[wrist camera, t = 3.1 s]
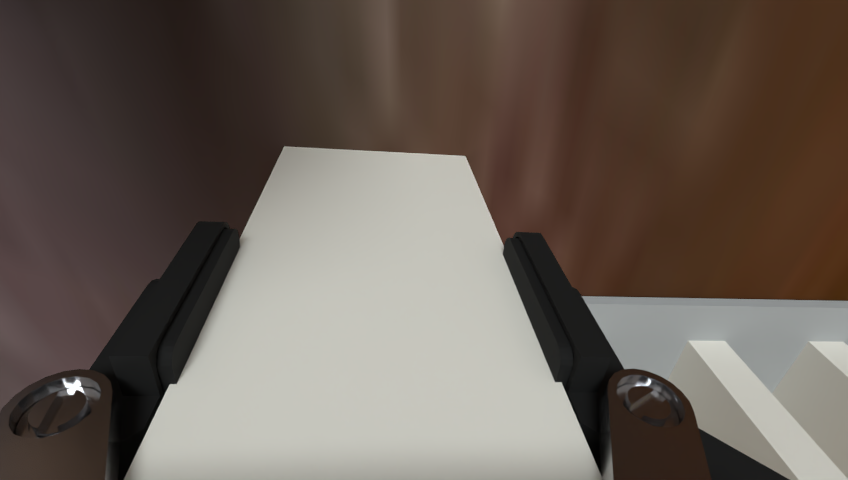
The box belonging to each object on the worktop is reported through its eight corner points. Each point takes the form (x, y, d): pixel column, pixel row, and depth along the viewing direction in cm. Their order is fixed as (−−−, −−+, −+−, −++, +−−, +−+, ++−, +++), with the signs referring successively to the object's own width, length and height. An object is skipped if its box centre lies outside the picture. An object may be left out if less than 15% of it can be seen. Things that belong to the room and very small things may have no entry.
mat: (879, 301, 21) (889, 308, 21) (774, 439, 26) (781, 447, 26) (186, 289, 18) (181, 297, 17) (222, 451, 23) (219, 460, 22)
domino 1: (284, 146, 15) (92, 544, 5) (465, 155, 16) (621, 521, 6) (287, 196, 16) (131, 617, 6) (458, 203, 17) (582, 590, 7)
